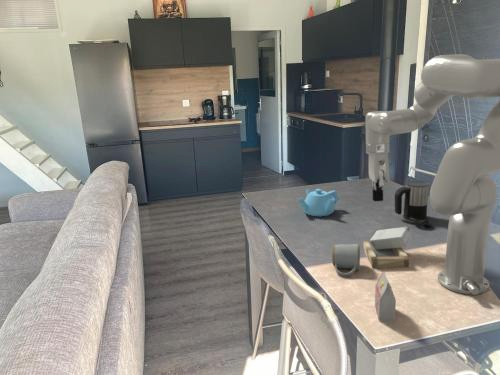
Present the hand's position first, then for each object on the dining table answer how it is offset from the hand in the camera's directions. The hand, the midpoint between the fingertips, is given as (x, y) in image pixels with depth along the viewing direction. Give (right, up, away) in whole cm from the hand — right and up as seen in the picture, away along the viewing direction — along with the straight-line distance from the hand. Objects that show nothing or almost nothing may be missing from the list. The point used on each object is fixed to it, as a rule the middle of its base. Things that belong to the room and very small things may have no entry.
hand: (377, 200), depth 134 cm
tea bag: (-11, -27, -37) cm, 48 cm away
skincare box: (-1, -14, -1) cm, 14 cm away
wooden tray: (-1, -18, -8) cm, 20 cm away
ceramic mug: (-14, -21, -14) cm, 29 cm away
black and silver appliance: (+23, -9, +21) cm, 32 cm away
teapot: (-14, -7, +37) cm, 41 cm away
